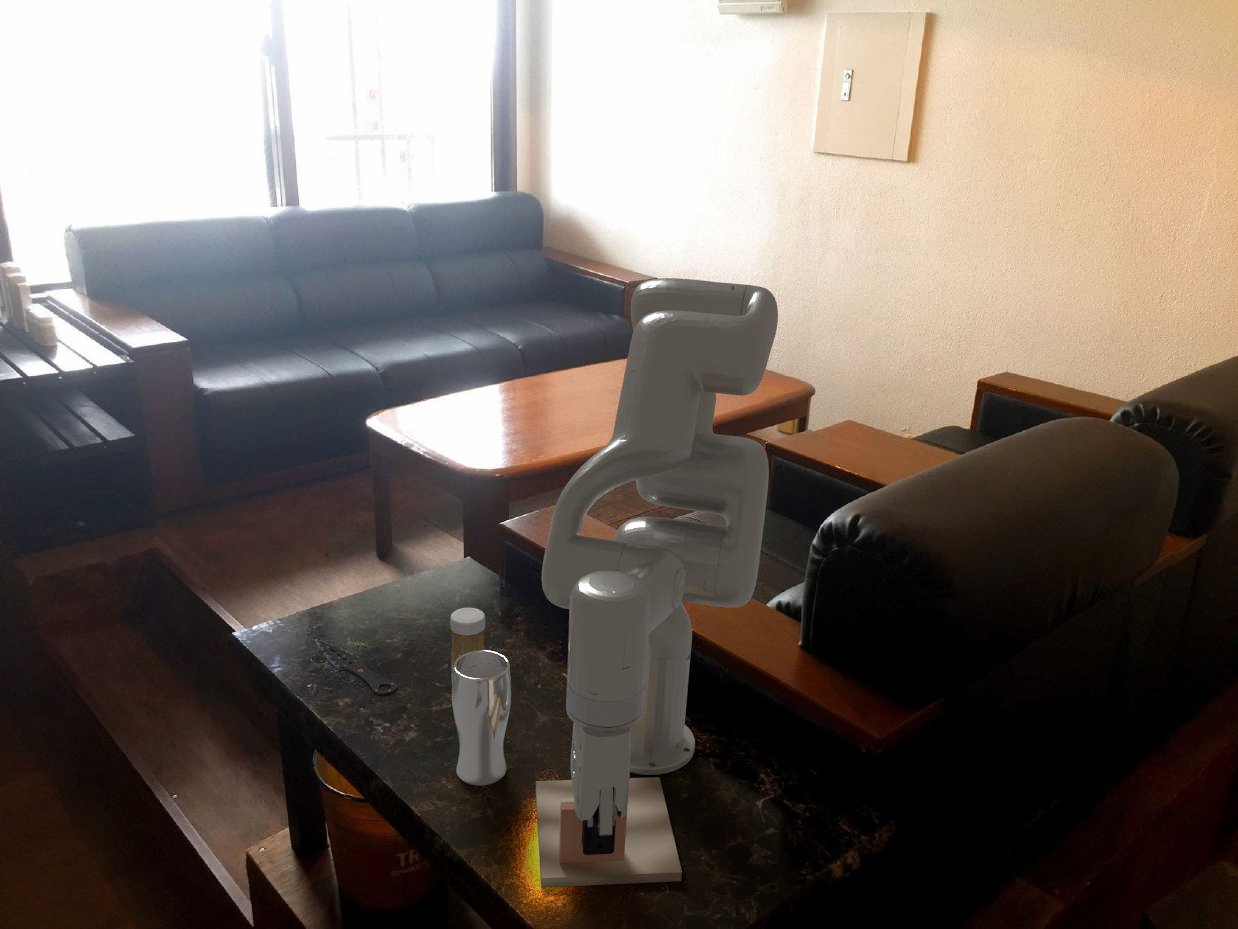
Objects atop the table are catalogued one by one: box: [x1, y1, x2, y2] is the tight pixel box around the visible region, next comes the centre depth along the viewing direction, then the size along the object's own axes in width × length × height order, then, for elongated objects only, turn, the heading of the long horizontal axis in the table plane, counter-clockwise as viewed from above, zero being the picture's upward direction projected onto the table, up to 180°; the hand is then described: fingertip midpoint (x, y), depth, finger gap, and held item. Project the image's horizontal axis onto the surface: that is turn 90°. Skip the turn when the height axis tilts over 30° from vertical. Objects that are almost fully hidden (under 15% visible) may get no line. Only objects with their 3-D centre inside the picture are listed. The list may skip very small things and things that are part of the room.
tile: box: [558, 798, 627, 863], centre depth 110 cm, size 2×7×7 cm, turn 96°
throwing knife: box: [313, 637, 398, 696], centre depth 147 cm, size 4×20×1 cm, turn 47°
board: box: [535, 776, 683, 888], centre depth 116 cm, size 16×15×1 cm
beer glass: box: [451, 649, 512, 787], centre depth 123 cm, size 7×7×15 cm
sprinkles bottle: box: [449, 607, 486, 703], centre depth 137 cm, size 5×5×13 cm
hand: (597, 848), depth 105 cm, fingers closed
